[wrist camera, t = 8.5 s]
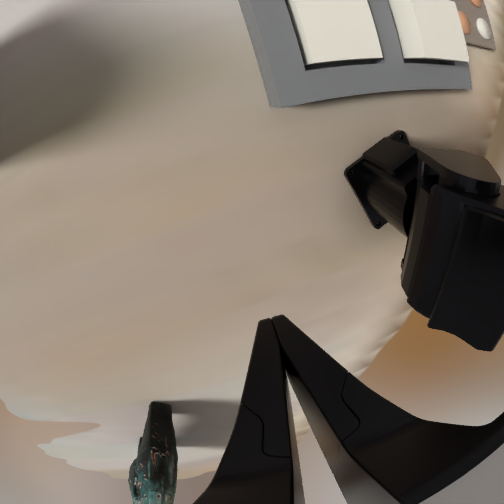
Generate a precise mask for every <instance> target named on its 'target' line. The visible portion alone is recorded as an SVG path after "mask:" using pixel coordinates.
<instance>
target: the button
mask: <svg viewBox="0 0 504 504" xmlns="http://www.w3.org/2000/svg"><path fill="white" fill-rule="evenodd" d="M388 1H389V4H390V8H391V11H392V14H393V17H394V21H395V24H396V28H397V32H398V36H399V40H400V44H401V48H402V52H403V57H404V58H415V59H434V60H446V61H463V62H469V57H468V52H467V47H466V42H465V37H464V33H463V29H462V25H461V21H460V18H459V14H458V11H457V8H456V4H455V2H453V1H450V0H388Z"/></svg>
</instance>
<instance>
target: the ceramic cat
mask: <svg viewBox="0 0 504 504" xmlns="http://www.w3.org/2000/svg"><path fill="white" fill-rule="evenodd" d="M177 462H178V454H177V450H176V439H175V431H174V427H173V422H172V411H171V406H170V405H167V404H159V403H155V402H151V404H150V405H149V411H148V417H147V421H146V424H145V429H144V433H143V438H142V437H140V441H139V445H138V456H137V458H136V459H135V460H134V461H133V463H132V464H131V466H130V471H129V479H128V481H129V485H130V491H131V495H132V498H133V504H173V501H174V496H175V491H176V481H177Z"/></svg>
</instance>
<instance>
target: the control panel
mask: <svg viewBox="0 0 504 504" xmlns="http://www.w3.org/2000/svg"><path fill="white" fill-rule="evenodd" d="M238 1H239V4H240V7H241V10H242V13H243V16H244V19H245V22H246V25H247V28H248V31H249V35H250V38H251V41H252V44H253V48H254V51H255V54H256V58H257V61H258V65H259V68H260V72H261V75H262V79H263V82H264V86H265V89H266V93H267V97H268V101H269V104H270V107H276V108H285V107H289V106H294V105H299V104H304V103H309V102H315V101H320V100H326V99H332V98H338V97H345V96H352V95H360V94H369V93H378V92H389V91H402V90H420V89H472V84H471V77H470V70H469V64H468V62H463V61H446V60H434V59H415V58H404V57H403V52H402V48H401V44H400V40H399V36H398V32H397V28H396V24H395V21H394V17H393V14H392V11H391V8H390V4H389V1H388V0H367V2H368V5H369V8H370V11H371V14H372V17H373V21H374V24H375V28H376V32H377V35H378V39H379V43H380V47H381V51H382V56H383V58H376V59H367V60H354V61H341V62H331V63H322V64H315V65H307V66H304V63H303V60H302V56H301V52H300V49H299V45H298V42H297V38H296V35H295V32H294V28H293V25H292V22H291V19H290V15H289V12H288V9H287V6H286V3H285V0H238ZM450 1H453V0H450Z"/></svg>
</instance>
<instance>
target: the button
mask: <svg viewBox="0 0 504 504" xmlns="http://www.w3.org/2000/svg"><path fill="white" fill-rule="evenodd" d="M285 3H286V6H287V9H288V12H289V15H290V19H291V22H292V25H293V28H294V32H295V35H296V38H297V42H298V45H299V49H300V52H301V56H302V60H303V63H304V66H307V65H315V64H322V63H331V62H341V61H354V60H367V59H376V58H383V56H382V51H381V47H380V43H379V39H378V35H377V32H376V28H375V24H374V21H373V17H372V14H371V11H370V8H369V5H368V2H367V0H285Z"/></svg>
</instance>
